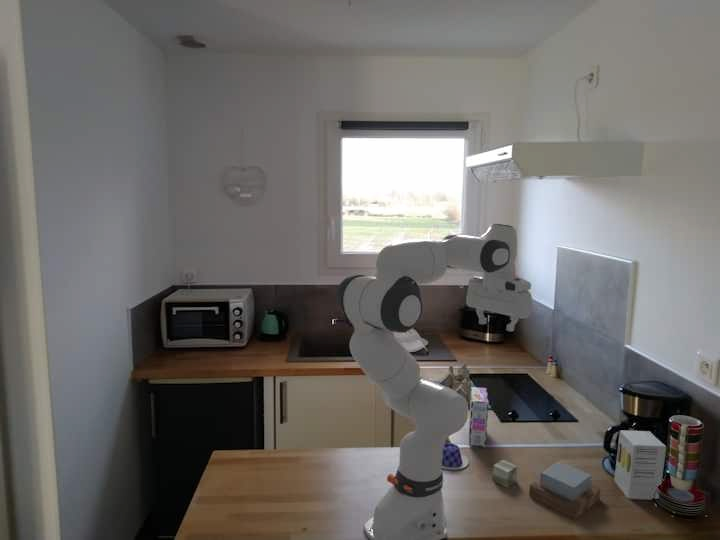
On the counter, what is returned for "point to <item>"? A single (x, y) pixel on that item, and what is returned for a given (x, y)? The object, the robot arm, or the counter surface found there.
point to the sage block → (504, 473)
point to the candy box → (478, 417)
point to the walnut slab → (565, 499)
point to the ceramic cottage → (458, 381)
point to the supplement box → (639, 464)
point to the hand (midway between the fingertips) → (496, 327)
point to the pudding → (453, 457)
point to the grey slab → (565, 480)
